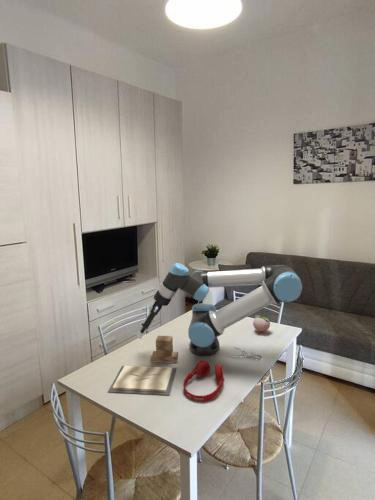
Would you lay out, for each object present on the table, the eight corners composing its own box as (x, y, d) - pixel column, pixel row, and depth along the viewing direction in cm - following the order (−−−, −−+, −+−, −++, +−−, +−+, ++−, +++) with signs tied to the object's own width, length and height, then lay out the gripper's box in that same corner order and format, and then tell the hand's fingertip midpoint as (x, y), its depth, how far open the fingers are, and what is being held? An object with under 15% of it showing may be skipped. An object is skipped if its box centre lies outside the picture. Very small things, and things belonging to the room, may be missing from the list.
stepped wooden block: (178, 357, 158) (177, 336, 155) (176, 363, 153) (176, 341, 151) (153, 356, 159) (152, 335, 157) (151, 362, 154) (150, 340, 152)
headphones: (199, 368, 147) (177, 400, 131) (198, 355, 145) (176, 385, 128) (230, 376, 140) (212, 411, 124) (229, 363, 138) (211, 396, 121)
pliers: (234, 344, 166) (263, 351, 159) (234, 347, 166) (263, 354, 159) (227, 353, 157) (257, 361, 150) (226, 356, 158) (257, 364, 151)
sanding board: (176, 368, 148) (176, 365, 148) (169, 395, 129) (169, 392, 129) (122, 366, 151) (122, 363, 150) (107, 392, 132) (107, 389, 132)
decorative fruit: (250, 333, 181) (250, 316, 179) (255, 327, 187) (255, 311, 185) (266, 337, 176) (267, 319, 174) (271, 331, 183) (272, 314, 180)
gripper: (162, 281, 160) (141, 315, 165) (151, 299, 136) (127, 338, 141) (175, 289, 160) (154, 323, 165) (167, 309, 136) (142, 348, 141)
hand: (142, 330), depth 153 cm, fingers open, 13 cm apart
